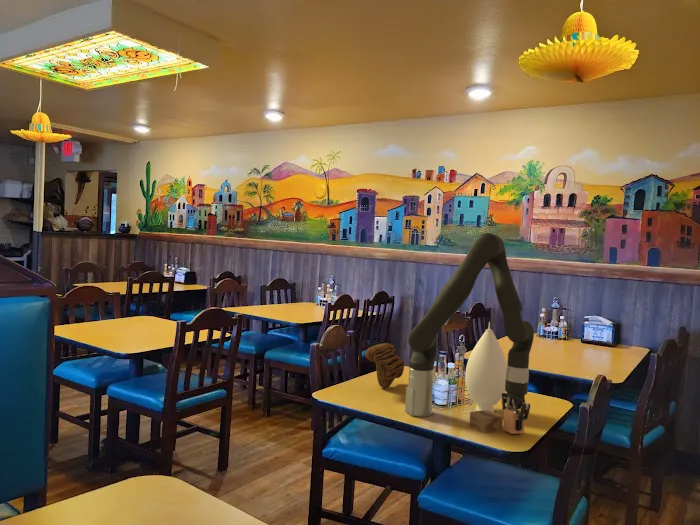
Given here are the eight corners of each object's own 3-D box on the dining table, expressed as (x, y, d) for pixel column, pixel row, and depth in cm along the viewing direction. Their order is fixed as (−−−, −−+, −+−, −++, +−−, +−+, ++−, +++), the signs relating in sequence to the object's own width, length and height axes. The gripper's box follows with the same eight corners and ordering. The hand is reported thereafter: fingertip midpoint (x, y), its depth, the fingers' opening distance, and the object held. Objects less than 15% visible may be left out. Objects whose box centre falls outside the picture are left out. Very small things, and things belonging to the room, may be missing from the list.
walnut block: (483, 433, 189) (484, 419, 189) (469, 425, 197) (470, 411, 196) (502, 430, 193) (502, 416, 192) (487, 423, 200) (488, 409, 200)
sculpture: (391, 381, 252) (393, 337, 251) (406, 384, 247) (408, 340, 246) (359, 393, 230) (361, 346, 229) (375, 397, 226) (377, 349, 225)
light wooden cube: (511, 433, 187) (512, 413, 187) (503, 428, 192) (504, 408, 191) (523, 432, 188) (525, 412, 188) (515, 427, 193) (516, 408, 193)
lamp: (456, 410, 213) (461, 320, 211) (475, 401, 225) (480, 317, 223) (494, 420, 203) (499, 326, 201) (512, 411, 215) (517, 322, 213)
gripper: (495, 373, 195) (492, 420, 196) (519, 385, 181) (516, 435, 182) (514, 373, 197) (511, 419, 198) (539, 384, 183) (535, 434, 184)
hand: (513, 427), depth 190 cm, fingers closed on light wooden cube, 5 cm apart
